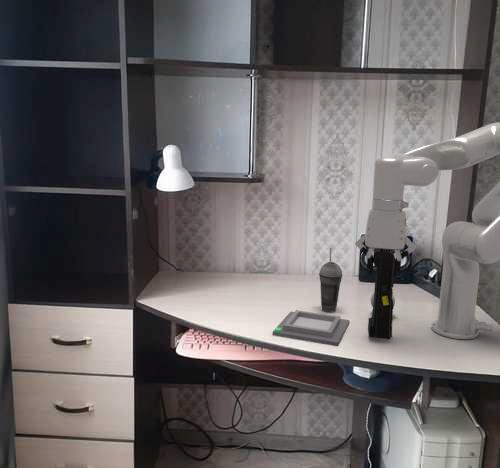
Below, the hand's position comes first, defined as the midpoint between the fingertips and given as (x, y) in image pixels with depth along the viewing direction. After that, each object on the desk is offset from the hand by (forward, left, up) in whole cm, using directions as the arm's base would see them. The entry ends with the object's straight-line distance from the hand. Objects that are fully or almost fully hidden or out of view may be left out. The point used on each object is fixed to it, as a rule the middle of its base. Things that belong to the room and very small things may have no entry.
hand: (383, 272), depth 131 cm
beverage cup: (+17, -18, -19) cm, 31 cm away
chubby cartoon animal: (+1, -17, -19) cm, 25 cm away
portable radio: (0, 0, -18) cm, 18 cm away
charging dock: (+18, 0, -19) cm, 26 cm away
